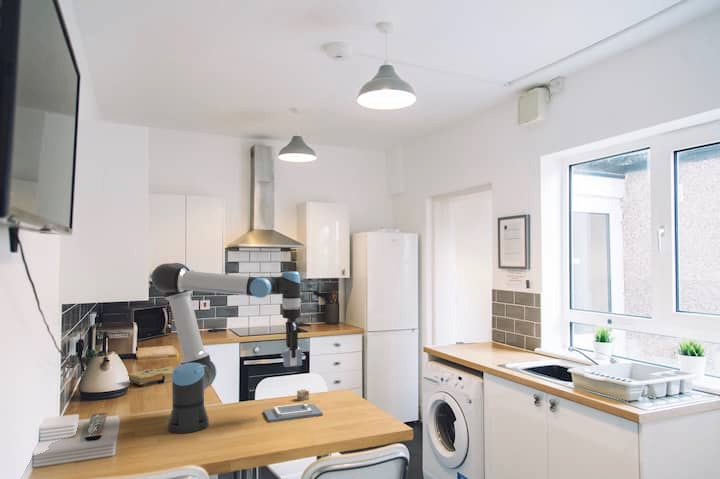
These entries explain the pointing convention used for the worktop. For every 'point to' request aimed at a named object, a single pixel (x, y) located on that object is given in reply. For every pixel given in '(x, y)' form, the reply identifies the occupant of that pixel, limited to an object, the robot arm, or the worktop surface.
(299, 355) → the servo block
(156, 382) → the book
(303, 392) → the oak block
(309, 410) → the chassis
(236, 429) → the worktop surface
